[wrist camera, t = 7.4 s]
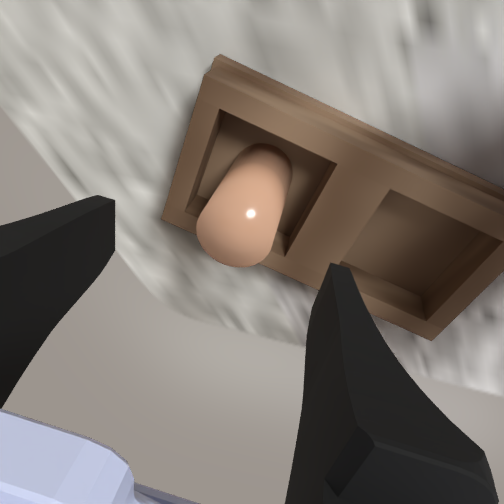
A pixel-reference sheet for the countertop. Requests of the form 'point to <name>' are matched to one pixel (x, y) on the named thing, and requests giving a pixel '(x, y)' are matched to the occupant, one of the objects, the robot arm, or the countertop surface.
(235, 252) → the clay rod
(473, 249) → the rack
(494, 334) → the countertop surface
